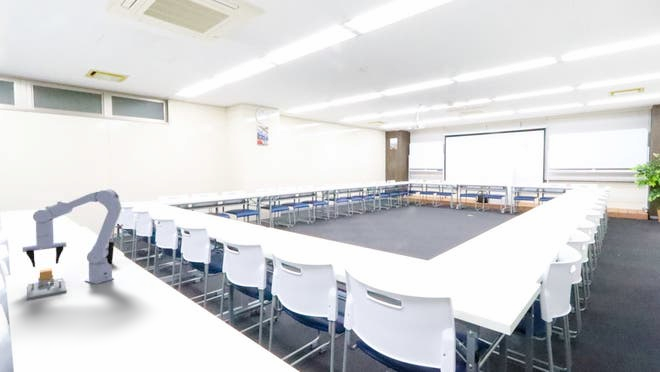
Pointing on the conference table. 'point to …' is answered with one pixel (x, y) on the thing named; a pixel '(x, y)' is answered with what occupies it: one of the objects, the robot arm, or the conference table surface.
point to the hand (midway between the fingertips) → (45, 264)
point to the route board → (46, 289)
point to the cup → (110, 252)
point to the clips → (45, 284)
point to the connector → (45, 274)
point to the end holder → (46, 281)
